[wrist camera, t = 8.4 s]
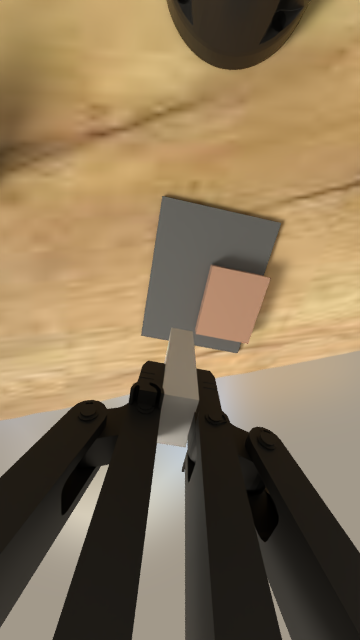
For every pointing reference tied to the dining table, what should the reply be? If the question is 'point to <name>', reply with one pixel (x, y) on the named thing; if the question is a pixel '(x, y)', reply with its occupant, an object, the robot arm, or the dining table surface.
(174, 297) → the mat
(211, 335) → the block
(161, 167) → the dining table surface
